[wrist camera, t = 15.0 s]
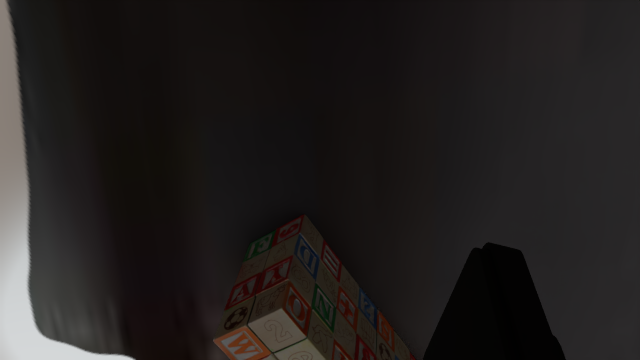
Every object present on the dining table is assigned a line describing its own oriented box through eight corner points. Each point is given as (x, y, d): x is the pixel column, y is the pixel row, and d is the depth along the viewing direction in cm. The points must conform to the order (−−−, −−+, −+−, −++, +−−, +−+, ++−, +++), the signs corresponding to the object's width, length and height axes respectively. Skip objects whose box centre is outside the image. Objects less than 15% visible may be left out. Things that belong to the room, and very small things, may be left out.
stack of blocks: (427, 369, 56) (437, 488, 45) (373, 389, 58) (370, 508, 47) (303, 211, 48) (281, 309, 37) (247, 242, 50) (210, 342, 39)
